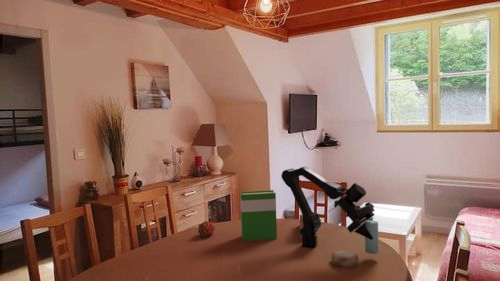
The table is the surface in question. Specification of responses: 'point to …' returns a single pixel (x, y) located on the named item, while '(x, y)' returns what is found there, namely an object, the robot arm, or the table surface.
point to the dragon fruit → (206, 229)
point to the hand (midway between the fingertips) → (374, 237)
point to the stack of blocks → (301, 221)
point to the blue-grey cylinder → (372, 227)
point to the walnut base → (344, 259)
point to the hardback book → (258, 215)
